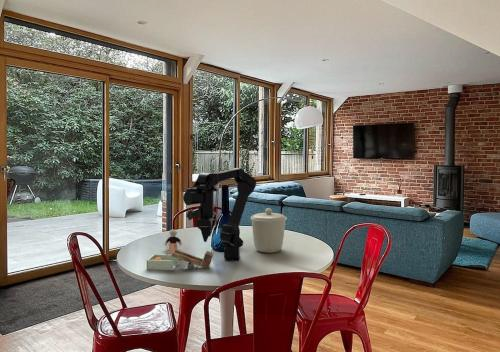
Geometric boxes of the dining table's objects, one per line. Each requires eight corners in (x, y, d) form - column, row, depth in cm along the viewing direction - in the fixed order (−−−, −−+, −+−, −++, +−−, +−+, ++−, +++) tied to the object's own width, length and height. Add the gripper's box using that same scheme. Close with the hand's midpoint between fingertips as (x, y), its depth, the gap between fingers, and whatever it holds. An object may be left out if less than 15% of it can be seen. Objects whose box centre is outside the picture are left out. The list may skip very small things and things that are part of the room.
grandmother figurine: (165, 257, 171) (165, 230, 171) (164, 255, 175) (164, 228, 174) (182, 256, 174) (182, 229, 173) (181, 254, 177) (181, 228, 176)
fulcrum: (198, 265, 161) (198, 260, 160) (195, 270, 154) (195, 264, 154) (186, 264, 161) (186, 259, 161) (183, 269, 155) (183, 264, 154)
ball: (153, 259, 160) (158, 266, 160) (150, 261, 157) (155, 268, 157) (160, 254, 160) (164, 261, 160) (157, 257, 156) (162, 264, 156)
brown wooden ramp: (209, 266, 160) (213, 252, 159) (207, 270, 154) (211, 256, 154) (174, 253, 160) (178, 240, 160) (171, 257, 155) (175, 243, 155)
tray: (178, 263, 162) (178, 254, 162) (172, 270, 154) (172, 260, 153) (153, 263, 163) (153, 254, 163) (146, 269, 154) (146, 260, 154)
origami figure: (182, 251, 182) (182, 241, 181) (164, 253, 179) (164, 243, 179) (179, 245, 193) (179, 236, 193) (163, 247, 191) (162, 237, 190)
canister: (243, 252, 181) (243, 209, 180) (260, 244, 197) (260, 204, 196) (277, 257, 173) (278, 212, 171) (292, 248, 189) (292, 207, 187)
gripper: (192, 199, 167) (192, 233, 168) (182, 205, 148) (183, 244, 149) (217, 199, 166) (217, 234, 167) (210, 206, 148) (210, 244, 149)
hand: (207, 239), depth 158 cm, fingers open, 9 cm apart
